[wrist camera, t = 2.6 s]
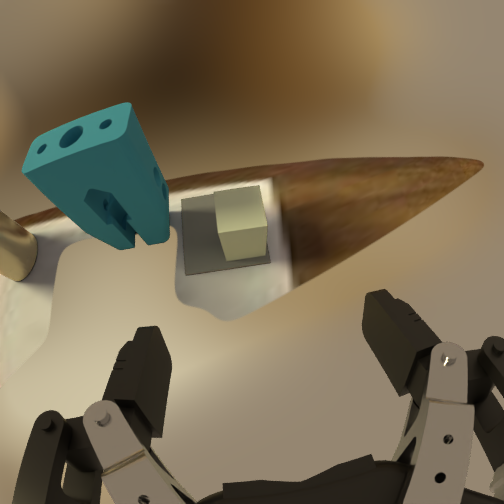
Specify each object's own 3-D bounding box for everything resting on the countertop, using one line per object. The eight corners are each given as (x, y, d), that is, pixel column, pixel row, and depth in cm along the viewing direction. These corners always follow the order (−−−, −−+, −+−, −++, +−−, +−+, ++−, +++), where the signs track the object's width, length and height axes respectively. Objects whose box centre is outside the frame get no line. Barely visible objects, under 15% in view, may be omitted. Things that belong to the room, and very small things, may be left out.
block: (180, 208, 39) (132, 100, 20) (182, 239, 37) (124, 136, 19) (107, 222, 39) (34, 138, 20) (105, 252, 37) (19, 175, 18)
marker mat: (185, 275, 35) (185, 274, 35) (181, 200, 39) (181, 199, 39) (270, 262, 36) (270, 262, 36) (256, 188, 40) (256, 187, 40)
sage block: (226, 261, 36) (218, 233, 28) (222, 226, 38) (213, 191, 30) (265, 255, 36) (267, 225, 28) (258, 221, 38) (259, 185, 30)
